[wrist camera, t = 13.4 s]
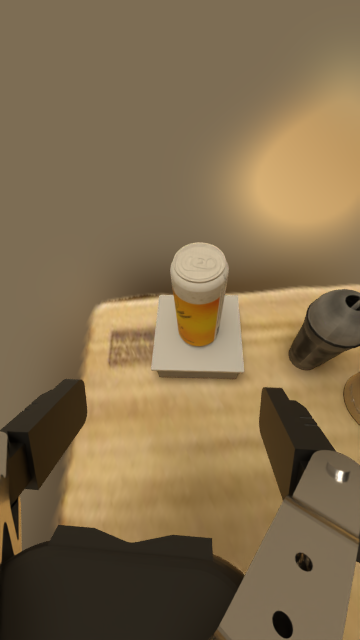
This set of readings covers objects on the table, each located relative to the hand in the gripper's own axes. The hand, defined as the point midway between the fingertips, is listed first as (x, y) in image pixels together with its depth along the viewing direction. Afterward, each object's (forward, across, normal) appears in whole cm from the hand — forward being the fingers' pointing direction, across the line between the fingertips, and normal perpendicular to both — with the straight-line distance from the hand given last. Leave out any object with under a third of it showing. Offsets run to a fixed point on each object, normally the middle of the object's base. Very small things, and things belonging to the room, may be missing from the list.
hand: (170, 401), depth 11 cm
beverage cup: (+29, -18, +10) cm, 35 cm away
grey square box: (+30, -1, +8) cm, 31 cm away
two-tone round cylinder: (+27, -1, +5) cm, 27 cm away
